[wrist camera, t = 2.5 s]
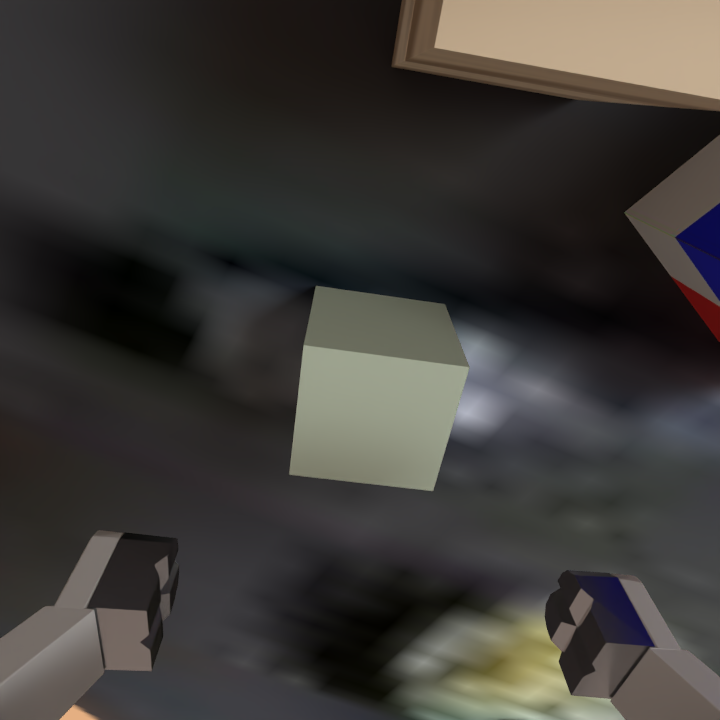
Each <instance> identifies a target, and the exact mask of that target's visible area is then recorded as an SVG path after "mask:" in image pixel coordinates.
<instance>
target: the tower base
mask: <svg viewBox="0 0 720 720" xmlns="http://www.w3.org/2000/svg"><path fill="white" fill-rule="evenodd" d="M414 5H415V0H402V3H401V9H400V16H399V22H398V28H397V35H396V41H395V47H394V54H393V60H392V66H391V67H395V68H401V69H406V70H412V71H418V72H423V73H429V74H434V75H440V76H446V77H451V78H457V79H463V80H468V81H474V82H480V83H485V84H491V85H496V86H502V87H508V88H513V89H519V90H525V91H530V92H536V93H542V94H547V95H553V96H558V97H564V98H570V99H575V100H587V101H599V102H612V103H625V104H637V105H648V104H642V103H637V102H631V101H625V100H620V99H614V98H609V97H603V96H597V95H592V94H586V93H581V92H575V91H569V90H564V89H558V88H553V87H547V86H541V85H536V84H530V83H525V82H519V81H513V80H508V79H502V78H497V77H491V76H485V75H480V74H474V73H469V72H463V71H457V70H452V69H446V68H441V67H435V66H429V65H424V64H418V63H413V62H407V61H405V58H406V52H407V46H408V40H409V34H410V29H411V23H412V17H413V11H414ZM650 106H653V105H650Z"/></svg>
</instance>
